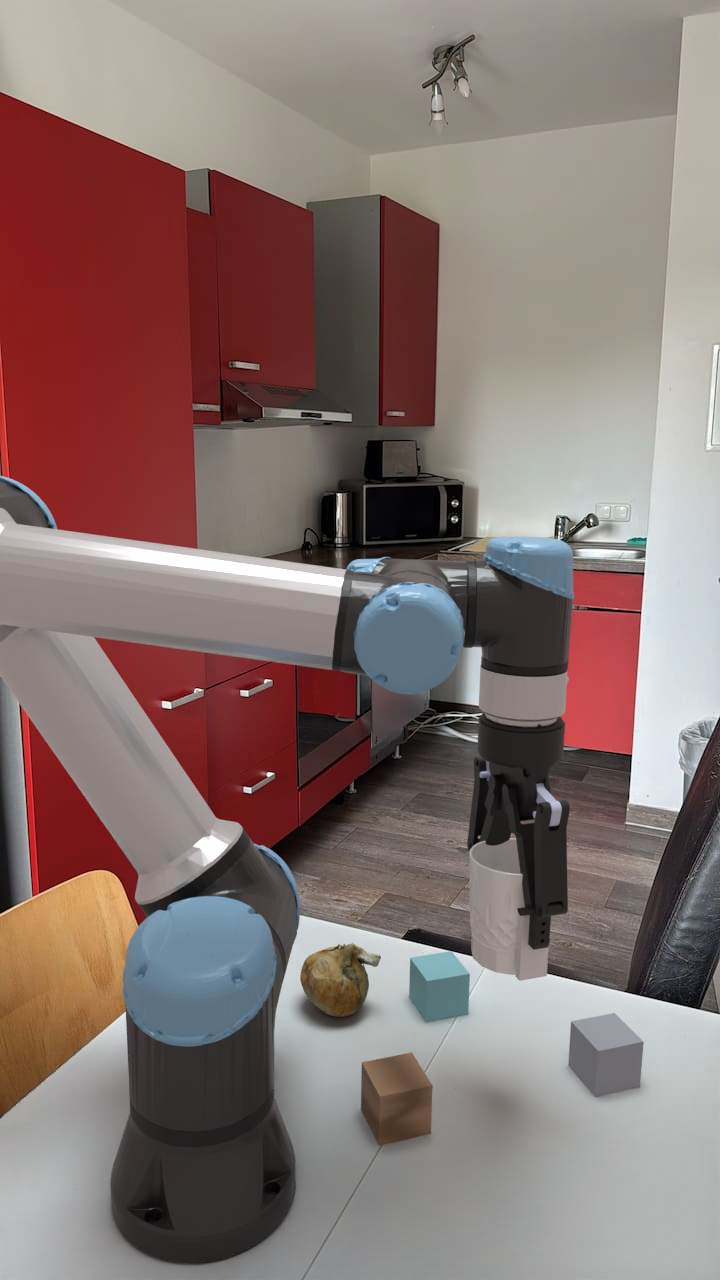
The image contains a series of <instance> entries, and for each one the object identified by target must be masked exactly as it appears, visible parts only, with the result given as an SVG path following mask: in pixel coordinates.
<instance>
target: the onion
mask: <svg viewBox="0 0 720 1280" xmlns="http://www.w3.org/2000/svg"><path fill="white" fill-rule="evenodd" d="M381 958H382V956H381V955H380V954H377V953H372V952H367V951H366V950H365V948H362V947H361V946H359V945H357V944H354V943H353V942H351V943H349V944H347V945H346V944H345V943H343V945H341V944H340V943H338V945H335V946H330V947H328V948H324V949H321V950H319V951H316V952H314V953H312V954H310V955H309V956H307V957H306V958H305V960H304V961H303V964H302V966H301V971H300V978H299V980H300V983H301V986H302V987H301V988H302V989H303V991H304V992H303V993H304V994H305V995H306V996H307V998H308V999H309V1000H310V1002H311V1003H313V1004H314V1005H315V1006H316V1008H317V1007H318V1009H320V1011H321V1012H323V1013H324V1014H326V1015H328V1016H331V1017H340V1018H341V1017H342V1018H343V1017H348V1016H350V1015H352V1014H355V1013H356V1012H357V1011H359V1009H360V1008H362V1006H363V1004H364V1003H365V1001H366V999H367V997H368V994H369V993H368V992H369V987H370V983H369V982H370V981H369V975H368V972H367V970H366V967H365V965H367V966H368V965H369V966H371V967H374V968H377V967H378V966H379V963H380V962H381Z"/></svg>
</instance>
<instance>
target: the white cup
mask: <svg viewBox="0 0 720 1280" xmlns="http://www.w3.org/2000/svg"><path fill="white" fill-rule="evenodd" d="M468 853H469V855H468V856H469V916H470V918H469V923H470V924H469V926H470V929H471V934H470V935H471V937H470V939H471V940H470V941H471V942H470V943H471V944H470V945H471V947H470V949H471V954H472V959H473V960H474V961H475V962H476V963H478V964H479V965H480V966H481V967H482V968H484V969H487V970H489V971H491V972H494V973H498V974H504V975H511V976H512V975H513V976H515V975H516V956H517V937H518V918H519V913H518V910H517V908H523V907H525V904H524V896H523V888H522V878H523V874H521V873H520V865H519V857H518V850H517V842H516V837H514V838H512V837H510V839H509V840H508V841H506V842H504V843H502V844H500V845H495V846H490V845H487V844H486V841H481V842H479V843H477V844H475V845H474V846H473V847H472V848H471V849H470V852H468Z"/></svg>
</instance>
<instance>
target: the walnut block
mask: <svg viewBox="0 0 720 1280" xmlns="http://www.w3.org/2000/svg"><path fill="white" fill-rule="evenodd" d="M360 1081H361V1083H360V1084H361V1085H360V1088H361V1089H360V1091H361V1092H360V1110H361V1113H362V1115H363V1117H364V1118H365V1120H366V1122H367V1124H368V1127H369V1129H370V1131H371V1132H372V1135H373V1137H374V1139H375V1141H376V1143H377V1145H378V1146H383V1145H389V1144H391V1143H392V1144H393V1143H397V1142H401V1141H406V1140H410V1139H414V1138H418V1137H423V1136H427V1135H431V1134H432V1114H433V1112H432V1111H433V1084H432V1082H431V1081H430V1079H429V1078H428V1075H427V1074H426V1072H425V1071H424V1069H423V1068H422V1066H421V1065H420V1063H419V1062H418V1059H416V1057H415V1055H414V1054H413V1052H408V1053H402V1054H397V1055H396V1054H395V1055H391V1056H386V1057H382V1058H376V1059H373V1060H371V1059H370V1060H367V1061H362V1062H361V1080H360Z"/></svg>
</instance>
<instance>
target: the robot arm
mask: <svg viewBox="0 0 720 1280" xmlns="http://www.w3.org/2000/svg"><path fill="white" fill-rule="evenodd" d="M574 599H575V593H574V552H573V549H572V548H571V547H570V545H569V544H568V543H567V542H564V541H563V540H561V539H558V538H551V537H542V536H541V537H539V536H498V537H493V538H491V539H490V540H489V541H487V543H486V546H485V553H484V554H483V556H482V559H474V560H465V561H463V560H441V559H440V560H439V559H438V560H437V559H435V560H434V559H416V558H415V559H409V558H392V557H391V556H382V557H380V558H360V559H359V558H358V559H354V560H352V561H351V562H350V563H349V564H348V565H347V567H346V569H344V568H337V567H329V566H324V565H315V564H310V563H309V564H308V563H302V562H301V563H300V562H294V561H288V560H287V561H286V560H279V559H274V558H273V559H272V558H264V557H259V556H251V555H246V554H245V555H244V554H236V553H230V552H229V553H228V552H221V551H214V550H208V549H207V550H206V549H200V548H192V547H186V546H178V545H171V544H164V543H158V542H150V541H141V540H136V539H135V540H134V539H127V538H121V537H113V536H106V535H100V534H99V535H98V534H91V533H85V532H77V531H70V530H64V529H58V527H57V524H56V520H55V519H54V516H53V514H52V512H51V511H50V509H49V508H48V506H47V505H46V503H45V502H44V501H43V500H42V499H41V497H40V496H39V495H37V493H36V492H34V491H33V490H31V488H29V487H28V486H26V485H24V484H23V483H21V482H19V481H17V480H15V479H13V478H10V477H7V476H3V475H0V678H1V679H2V681H3V683H5V685H6V686H7V687H8V689H9V691H11V694H12V695H13V696H14V698H15V699H16V700H17V702H18V704H19V705H20V706H21V708H22V709H23V712H25V713H26V715H27V716H28V718H29V720H30V721H31V722H32V724H33V725H34V726H35V728H36V729H37V730H38V732H39V733H40V736H42V738H43V739H44V741H45V743H47V745H48V746H49V748H50V749H51V751H52V752H53V754H54V755H55V756H56V758H57V759H58V761H59V762H60V763H61V765H62V767H63V768H64V770H66V772H67V773H68V775H69V777H71V780H72V781H73V782H74V783H75V785H76V786H77V788H78V790H80V793H81V794H82V795H83V796H84V798H85V799H86V801H87V802H88V805H90V807H91V808H92V809H93V811H94V812H95V814H96V815H97V817H98V818H99V820H100V821H101V822H102V823H103V826H105V828H106V829H107V831H108V832H109V834H110V836H112V838H113V840H114V841H115V842H116V844H117V845H118V847H119V848H120V849H121V851H122V852H123V854H124V855H125V856H126V858H127V860H128V861H129V862H130V864H131V865H132V867H133V869H134V870H135V871H136V872H137V875H138V876H137V877H138V879H137V882H136V889H135V895H134V899H135V902H136V903H137V905H138V906H139V907H140V909H141V910H142V911H143V913H144V915H145V916H146V918H145V919H144V920H143V921H142V922H141V923H140V924H139V926H137V928H136V929H135V931H134V932H133V933H132V935H131V937H130V939H129V942H128V945H127V949H126V953H125V960H124V962H125V963H124V968H123V971H122V972H123V974H122V982H123V985H122V995H123V1001H124V1003H125V1025H126V1044H127V1045H126V1046H127V1069H128V1072H127V1073H128V1093H129V1115H128V1118H127V1120H126V1123H125V1127H124V1130H123V1133H122V1137H121V1139H120V1143H119V1146H118V1148H117V1151H116V1155H115V1158H114V1161H113V1165H112V1168H111V1172H110V1173H111V1174H110V1175H111V1176H110V1203H111V1204H110V1206H111V1214H112V1217H113V1220H114V1223H115V1225H116V1228H117V1229H118V1230H119V1232H120V1234H122V1237H124V1238H125V1240H127V1241H128V1243H130V1244H131V1245H132V1246H134V1247H135V1248H137V1249H138V1250H140V1251H141V1252H144V1253H145V1254H148V1255H149V1256H152V1257H154V1258H158V1259H161V1260H163V1261H164V1260H165V1261H170V1262H176V1263H177V1262H179V1263H191V1264H192V1263H203V1262H205V1263H206V1262H211V1261H217V1260H221V1259H225V1258H228V1257H231V1256H234V1255H237V1254H239V1253H241V1252H244V1251H246V1250H248V1249H251V1248H252V1247H253V1246H255V1245H256V1244H259V1242H261V1241H263V1240H264V1239H265V1238H267V1237H268V1236H269V1235H270V1234H271V1233H273V1232H274V1230H275V1229H277V1227H278V1226H279V1225H280V1224H281V1223H282V1222H283V1220H284V1219H285V1218H286V1217H287V1214H288V1212H289V1210H290V1208H291V1206H292V1204H293V1202H294V1199H295V1198H294V1197H295V1194H296V1188H297V1187H296V1186H297V1185H296V1184H297V1182H296V1181H297V1179H296V1178H297V1175H296V1173H297V1171H296V1170H297V1169H296V1167H297V1166H296V1165H297V1164H296V1163H297V1162H296V1155H295V1150H294V1146H293V1144H292V1141H291V1138H290V1134H289V1132H288V1129H287V1127H286V1125H285V1122H284V1120H283V1117H282V1114H281V1111H280V1109H279V1107H278V1106H279V1105H278V1104H277V1102H276V1098H275V1023H276V1013H277V1007H278V1005H279V1004H278V1003H279V999H280V996H281V995H280V994H281V990H282V988H283V987H282V986H283V984H284V980H285V976H286V972H287V968H288V965H289V961H290V957H291V953H292V950H293V947H294V944H295V941H296V938H297V936H298V929H299V926H300V920H301V917H300V916H301V914H300V910H301V909H300V908H301V907H300V894H299V889H298V885H297V882H296V880H295V879H296V878H295V877H294V875H293V873H292V871H291V869H290V868H289V866H288V865H287V863H286V862H285V860H283V859H282V857H280V856H279V855H278V854H277V852H274V850H272V849H270V848H269V847H266V846H265V845H263V844H262V845H258V844H257V843H254V842H253V840H252V839H251V838H250V836H249V835H248V834H247V832H246V831H245V829H244V828H243V826H242V825H241V824H240V823H239V822H237V821H231V820H225V819H221V818H220V819H219V818H218V817H216V816H215V814H214V812H213V811H212V810H211V808H210V806H209V805H208V803H207V802H206V800H205V799H204V797H203V796H202V795H201V793H200V792H199V790H198V788H196V785H195V784H194V783H193V782H192V780H191V779H190V777H189V775H188V774H187V773H186V771H185V769H184V768H183V767H182V766H181V764H180V763H179V762H180V761H178V759H177V758H176V757H175V755H174V753H173V752H172V750H171V749H170V747H169V746H168V745H167V743H166V742H165V740H164V739H163V737H162V736H161V735H160V733H159V731H158V730H157V728H156V727H155V725H154V724H153V722H152V721H151V719H150V717H148V715H147V713H146V712H145V711H144V709H143V707H142V706H141V705H140V704H139V702H138V700H137V698H135V696H134V694H133V693H132V692H131V690H130V688H129V687H128V685H127V683H126V682H125V681H124V679H122V677H121V675H120V674H119V672H118V671H117V669H116V668H115V667H114V665H113V663H112V662H111V660H110V659H109V657H108V656H107V654H106V653H105V651H104V650H103V648H102V647H101V645H100V644H99V643H98V641H97V639H96V638H98V639H99V638H100V639H106V640H113V641H122V642H126V643H127V642H128V643H135V644H142V645H148V646H155V647H156V646H157V647H163V648H170V649H179V650H184V651H193V652H200V653H205V654H206V653H208V654H214V655H221V656H228V657H235V658H242V659H243V658H244V659H248V660H249V659H252V660H256V661H263V662H273V663H277V664H278V663H279V664H286V665H294V666H299V667H300V666H301V667H306V668H307V667H308V668H315V669H322V670H329V671H338V672H343V673H347V674H353V675H359V676H360V675H361V676H367V677H369V678H370V679H371V680H372V681H373V682H374V683H375V684H376V685H378V686H380V687H382V688H383V689H385V690H387V691H390V692H392V693H396V694H402V695H417V694H421V693H425V692H428V691H430V690H432V689H434V688H436V687H438V686H440V685H441V684H443V683H444V682H445V681H446V680H447V679H448V678H449V677H450V675H452V673H453V672H454V670H455V669H456V667H457V665H458V663H459V660H460V658H461V654H462V651H463V649H464V648H465V649H466V648H467V649H468V648H469V649H473V648H481V659H480V660H481V661H480V666H479V667H480V668H479V689H478V690H479V693H478V708H479V709H480V710H481V711H482V713H481V714H480V716H478V730H477V752H478V755H479V756H476V757H474V758H473V776H474V781H473V791H472V797H471V807H470V816H469V817H470V818H469V825H468V826H469V827H468V833H467V844H466V846H467V850H468V853H470V849H471V848H472V847H473V846H474V845H475V844H477V843H479V842H481V841H486V844H487V845H490V846H495V845H500V844H502V843H504V842H506V841H508V840H509V839H510V838H511V835H512V834H513V835H514V836H515V839H516V842H517V850H518V857H519V865H520V873H521V874H523V878H522V888H523V896H524V904H525V907H523V908H517V910H518V913H519V918H518V937H517V956H516V975H514V977H516V979H517V980H518V981H520V982H521V981H526V980H527V981H528V980H531V979H532V980H533V979H537V978H544V977H547V976H548V960H549V946H550V942H551V941H550V936H551V925H552V922H551V920H552V917H553V916H558V915H559V916H560V915H565V914H567V913H568V911H569V906H568V905H569V899H568V898H569V896H568V895H569V894H568V893H569V892H568V851H567V850H568V845H567V843H568V842H567V840H568V839H567V836H568V835H567V826H568V821H569V815H570V810H571V807H570V804H569V801H568V800H566V799H562V800H561V799H560V800H557V799H555V797H554V796H553V795H552V794H551V792H552V786H551V781H550V773H549V772H550V770H551V769H552V768H553V766H555V765H557V764H558V763H560V762H561V761H562V759H563V757H564V752H565V751H564V750H565V736H566V735H565V733H566V732H565V731H566V730H565V729H566V722H565V721H564V720H563V718H562V716H563V715H564V714H565V713H566V706H567V688H568V687H567V686H568V684H569V681H570V678H569V676H568V669H569V658H570V646H571V645H570V643H571V632H572V631H571V630H572V618H573V617H572V616H573V605H574V603H573V602H574ZM526 821H534V822H527V823H521V822H526Z"/></svg>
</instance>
